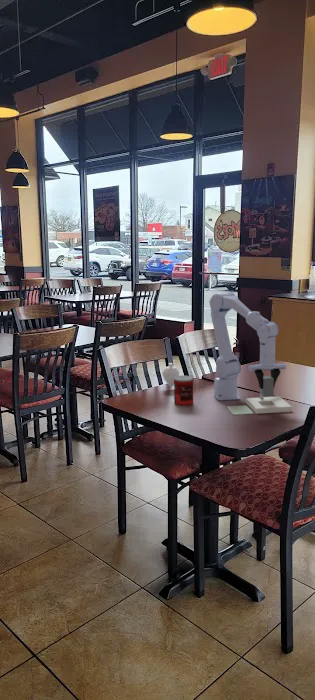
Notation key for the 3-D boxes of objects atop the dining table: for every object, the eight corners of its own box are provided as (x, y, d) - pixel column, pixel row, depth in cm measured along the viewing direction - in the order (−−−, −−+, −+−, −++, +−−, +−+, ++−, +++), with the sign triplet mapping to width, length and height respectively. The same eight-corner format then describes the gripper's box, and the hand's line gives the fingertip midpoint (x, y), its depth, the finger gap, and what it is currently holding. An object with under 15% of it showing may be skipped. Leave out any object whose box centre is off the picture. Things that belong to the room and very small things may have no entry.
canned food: (180, 399, 216) (180, 374, 214) (197, 402, 212) (196, 376, 209) (170, 404, 210) (169, 378, 208) (187, 407, 205) (186, 381, 203)
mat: (233, 415, 195) (233, 414, 195) (226, 407, 205) (226, 406, 205) (253, 413, 196) (253, 413, 196) (246, 406, 206) (246, 405, 206)
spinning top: (178, 391, 229) (177, 365, 226) (161, 391, 230) (160, 365, 228) (180, 386, 236) (180, 361, 234) (164, 386, 237) (163, 361, 235)
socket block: (256, 413, 196) (256, 396, 195) (245, 402, 210) (246, 386, 208) (291, 411, 197) (292, 393, 196) (279, 401, 211) (279, 384, 210)
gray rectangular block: (263, 396, 199) (263, 378, 198) (260, 393, 203) (260, 376, 202) (273, 395, 200) (273, 378, 198) (270, 393, 204) (270, 375, 202)
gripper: (252, 356, 193) (251, 391, 196) (289, 355, 195) (288, 389, 198) (246, 353, 200) (246, 386, 203) (282, 351, 202) (282, 384, 205)
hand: (266, 387), depth 201 cm, fingers closed on gray rectangular block, 4 cm apart
